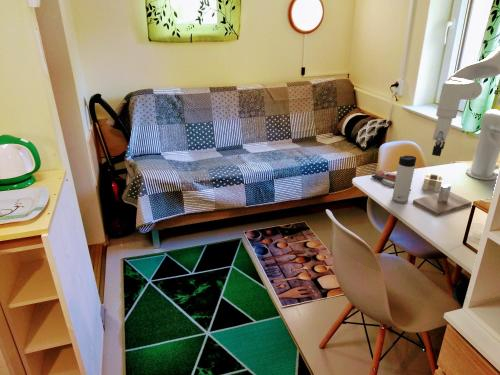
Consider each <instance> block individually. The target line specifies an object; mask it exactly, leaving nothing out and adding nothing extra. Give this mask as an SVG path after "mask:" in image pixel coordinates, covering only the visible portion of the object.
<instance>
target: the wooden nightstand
mask: <svg viewBox="0 0 500 375" xmlns="http://www.w3.org/2000/svg"><path fill="white" fill-rule="evenodd" d="M443 178H444V175H440V174H434V173H429V172H426V173H425V175H424V179H423V183H422V187H421V189H422V190H427V191H430V192H435V193H439V192H440V189H441V186H442V181H443Z"/></svg>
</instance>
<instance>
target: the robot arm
mask: <svg viewBox="0 0 500 375" xmlns="http://www.w3.org/2000/svg"><path fill="white" fill-rule="evenodd" d="M499 75H500V46H498V47H497V48H496V49H495V50H494V51H492V53H489V55H487V57H485V58H484V59H481V60H480V61H476V62H474V63H471V64H469V65H466V66H464V67H461V68H460V69H458V70H456V71H455V72H454V73H453V74H452V75H451V76H450V77H449V78H448V79H447V80H446V81H445V82H444V83H443V84H442V86H441V90H440V96H439V100H438V105H437V108H436V112H435V116H436V117H437V120H436V124H435V128H434V130H433V135H432V136H433V137H432V140H433V141H435V142H434V145H433V148H432V152H431V155H432V156H437V157H441V155H442V150H444V147H445V144H446V140H447V138H448V135H449V133H450V129H451V125H452V122H453V119H456V118H457V116H458V111H459V106H460V103H461V100H463V101H473V100H476V99H477V98H478V97H480V95H481V94H482V92H483V86H482V84H481V83H480V82H478V81H475V80H482V79H491V78H495V77H497V76H499ZM496 104H497V105H498V106H499V107H500V94H499V95H498V97H497V100H496ZM499 156H500V109H496V108H493V109H492V108H491V109H489V110H486V111H485V112H484V114H482V117H481V123H480V133H479V137H478V142H477V144H476V149H475V152H474V155H473V159H472V163H471V167H469V168H467V169H466V171H465V173H466V175H467V176H469V177H471V178H473V179H477V180H480V181H493V180H495V179H496V178H497V174H496V172H494V171H496V170H498V169H499V168H500V166H499V165H497V162H498V158H499Z"/></svg>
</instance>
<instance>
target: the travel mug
mask: <svg viewBox="0 0 500 375" xmlns="http://www.w3.org/2000/svg"><path fill="white" fill-rule="evenodd" d="M398 160H399V161H398V164H397V170H396V173H395V174H396V180H395V185H394V187H393V192H392V197H391V199H392V201H393V202H394V203H396V204H404V205H405V204H407V203H408V202H409V196H410V192H411V191H410V189H411V187H412V183H413V178H414V177H413V176H414V173H415V168H416V163H417V162H416V161H417V157H416V156H413V155H403V156H399V159H398Z"/></svg>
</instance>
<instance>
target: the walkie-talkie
mask: <svg viewBox="0 0 500 375" xmlns="http://www.w3.org/2000/svg"><path fill="white" fill-rule="evenodd" d="M396 174H397V173H394V172H388V171H387V172H386V171H385V170H384V171H383V170H378V171H376V172H375V173H374V174H372V175H371V178H373V179H374V180H376V181H379V182H382V184H383V185H385V186H387V187H390V188H394V185H395V180H396ZM411 191H412V189H411V188H410V192H411Z"/></svg>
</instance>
